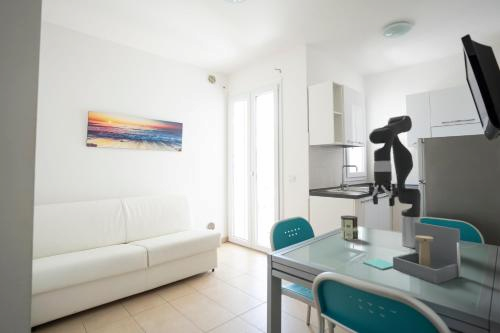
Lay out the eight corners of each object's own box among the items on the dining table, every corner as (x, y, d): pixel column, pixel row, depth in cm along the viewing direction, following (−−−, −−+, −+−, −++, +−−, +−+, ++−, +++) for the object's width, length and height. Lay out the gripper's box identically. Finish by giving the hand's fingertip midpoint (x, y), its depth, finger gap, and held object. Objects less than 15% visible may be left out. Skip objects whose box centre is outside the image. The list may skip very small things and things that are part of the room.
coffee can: (354, 236, 173) (353, 215, 173) (360, 240, 163) (360, 218, 163) (338, 236, 173) (338, 215, 174) (344, 240, 163) (343, 218, 163)
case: (417, 262, 123) (415, 222, 123) (463, 276, 106) (462, 229, 106) (393, 268, 116) (392, 225, 116) (439, 284, 99) (437, 234, 99)
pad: (377, 259, 127) (377, 258, 127) (396, 266, 118) (396, 264, 118) (363, 262, 123) (363, 261, 123) (382, 270, 114) (381, 268, 114)
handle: (415, 269, 115) (414, 235, 115) (433, 271, 112) (432, 236, 112) (416, 272, 110) (415, 237, 111) (435, 275, 107) (434, 239, 108)
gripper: (402, 170, 117) (403, 206, 117) (375, 170, 130) (376, 203, 130) (390, 170, 114) (391, 207, 114) (364, 171, 127) (365, 204, 127)
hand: (383, 205), depth 122 cm, fingers open, 8 cm apart
